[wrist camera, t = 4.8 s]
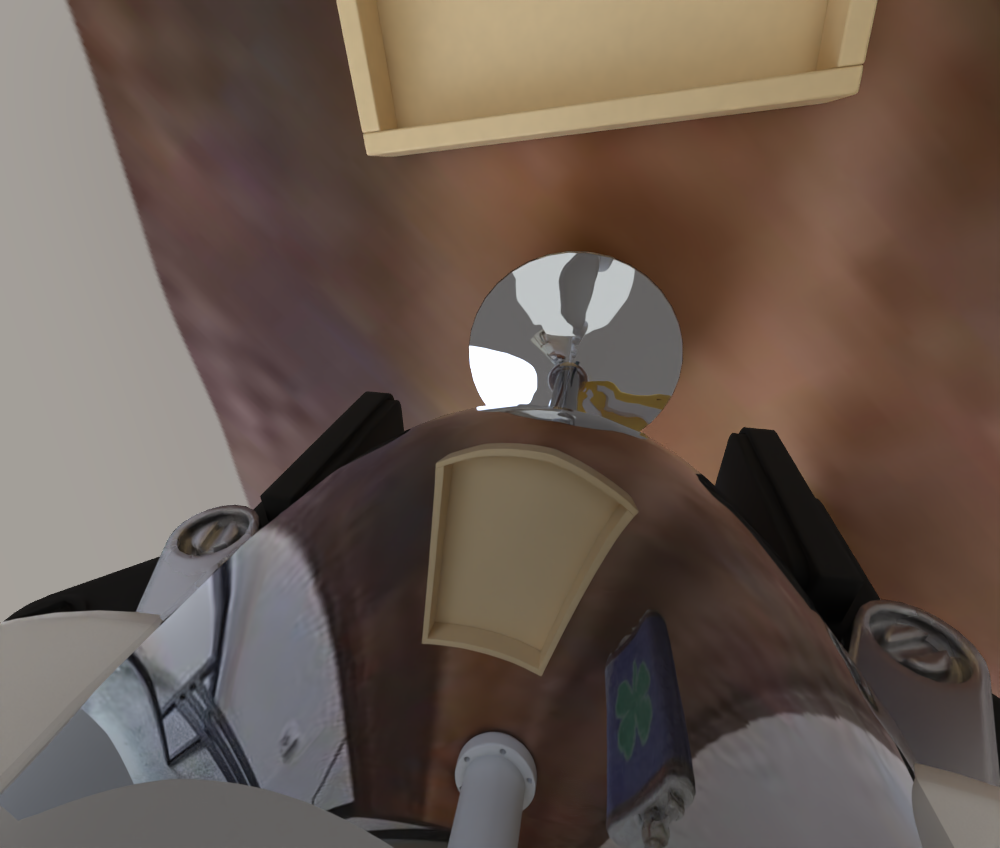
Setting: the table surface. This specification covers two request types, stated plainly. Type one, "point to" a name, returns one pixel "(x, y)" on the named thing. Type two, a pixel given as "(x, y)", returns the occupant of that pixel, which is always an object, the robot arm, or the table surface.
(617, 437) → the wine glass
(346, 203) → the table surface
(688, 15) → the tray
